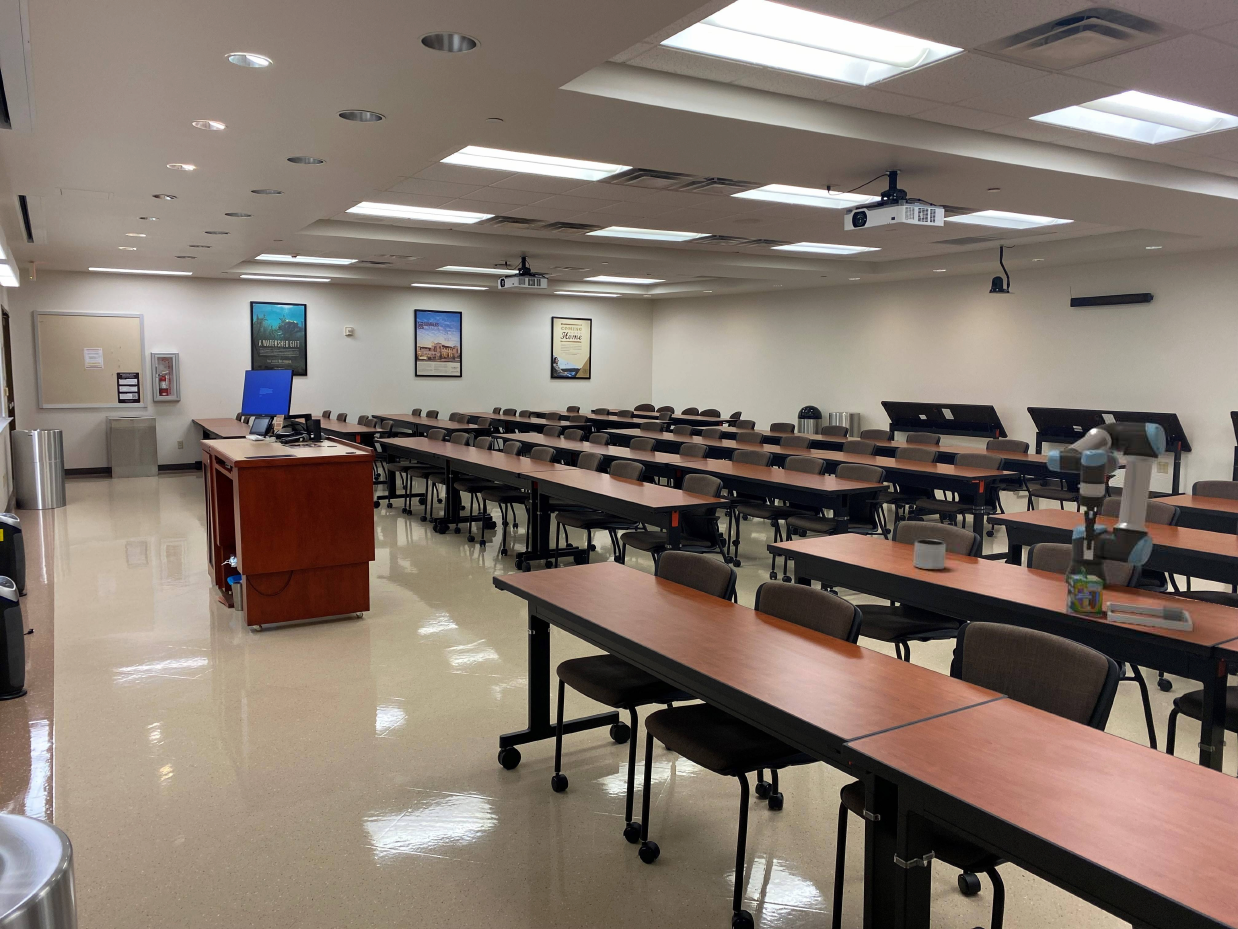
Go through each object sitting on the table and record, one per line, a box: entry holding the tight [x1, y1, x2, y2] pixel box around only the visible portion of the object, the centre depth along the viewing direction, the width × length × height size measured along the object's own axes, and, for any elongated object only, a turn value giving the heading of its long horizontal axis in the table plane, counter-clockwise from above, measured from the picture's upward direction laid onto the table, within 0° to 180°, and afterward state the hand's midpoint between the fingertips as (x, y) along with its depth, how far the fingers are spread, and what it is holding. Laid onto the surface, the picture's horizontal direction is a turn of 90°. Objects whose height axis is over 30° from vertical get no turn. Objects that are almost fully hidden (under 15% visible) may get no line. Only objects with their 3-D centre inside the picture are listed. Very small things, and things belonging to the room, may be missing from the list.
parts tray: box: [1105, 601, 1194, 632], centre depth 287 cm, size 16×24×2 cm, turn 61°
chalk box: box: [1066, 567, 1104, 614], centre depth 297 cm, size 9×9×15 cm
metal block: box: [1161, 605, 1184, 622], centre depth 284 cm, size 5×5×5 cm
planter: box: [913, 538, 946, 570], centre depth 360 cm, size 13×12×11 cm
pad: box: [1065, 604, 1103, 618], centre depth 297 cm, size 11×11×1 cm
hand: (1088, 554), depth 295 cm, fingers open, 13 cm apart
